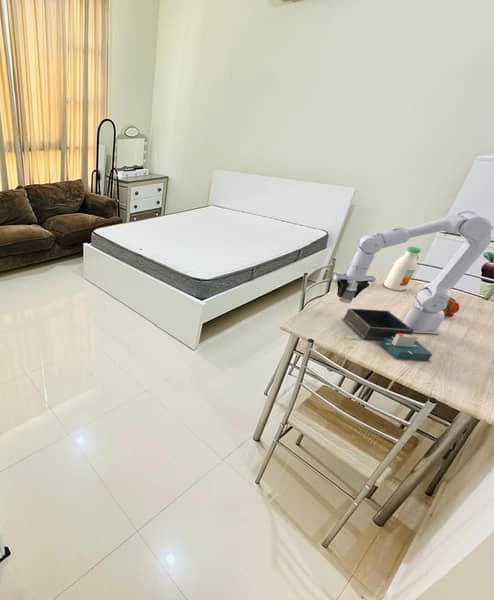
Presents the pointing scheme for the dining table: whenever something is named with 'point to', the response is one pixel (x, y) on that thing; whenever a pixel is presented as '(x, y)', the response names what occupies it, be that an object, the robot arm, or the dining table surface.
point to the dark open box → (375, 324)
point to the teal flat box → (406, 350)
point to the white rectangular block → (404, 340)
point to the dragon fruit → (451, 308)
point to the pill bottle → (349, 292)
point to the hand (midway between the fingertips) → (346, 296)
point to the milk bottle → (403, 270)
